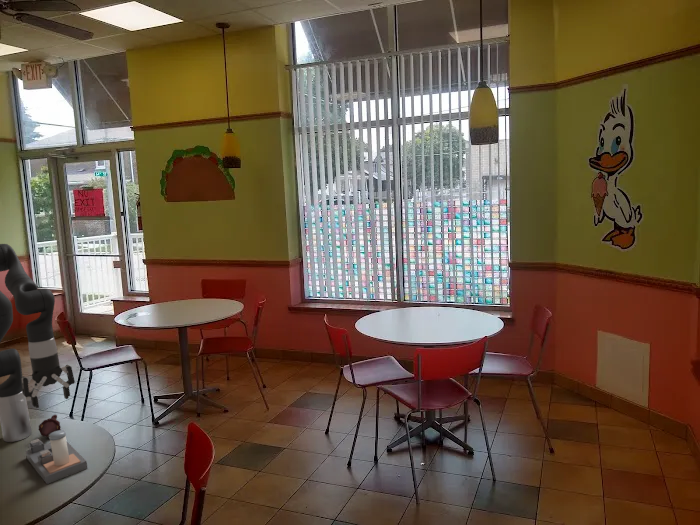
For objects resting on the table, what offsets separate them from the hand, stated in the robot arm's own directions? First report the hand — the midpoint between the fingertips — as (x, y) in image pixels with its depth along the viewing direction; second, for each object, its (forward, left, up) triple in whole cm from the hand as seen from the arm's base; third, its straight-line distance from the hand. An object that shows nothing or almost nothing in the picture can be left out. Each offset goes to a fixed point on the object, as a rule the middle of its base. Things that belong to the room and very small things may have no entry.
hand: (51, 402), depth 173 cm
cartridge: (0, 0, -20) cm, 20 cm away
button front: (-7, -3, -21) cm, 22 cm away
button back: (-19, -3, -21) cm, 28 cm away
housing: (-8, 0, -23) cm, 25 cm away
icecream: (-33, +5, -24) cm, 41 cm away
